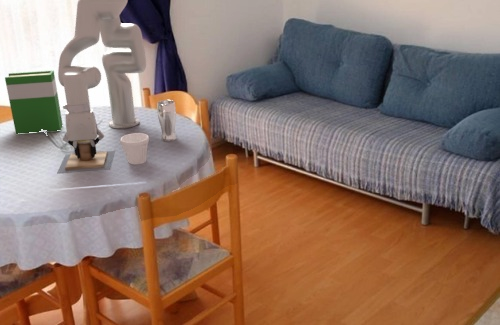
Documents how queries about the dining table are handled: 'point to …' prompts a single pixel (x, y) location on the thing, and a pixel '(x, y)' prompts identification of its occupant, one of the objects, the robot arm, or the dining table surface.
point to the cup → (135, 147)
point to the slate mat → (106, 167)
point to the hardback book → (34, 101)
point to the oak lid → (86, 158)
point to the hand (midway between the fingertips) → (86, 156)
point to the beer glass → (167, 119)
